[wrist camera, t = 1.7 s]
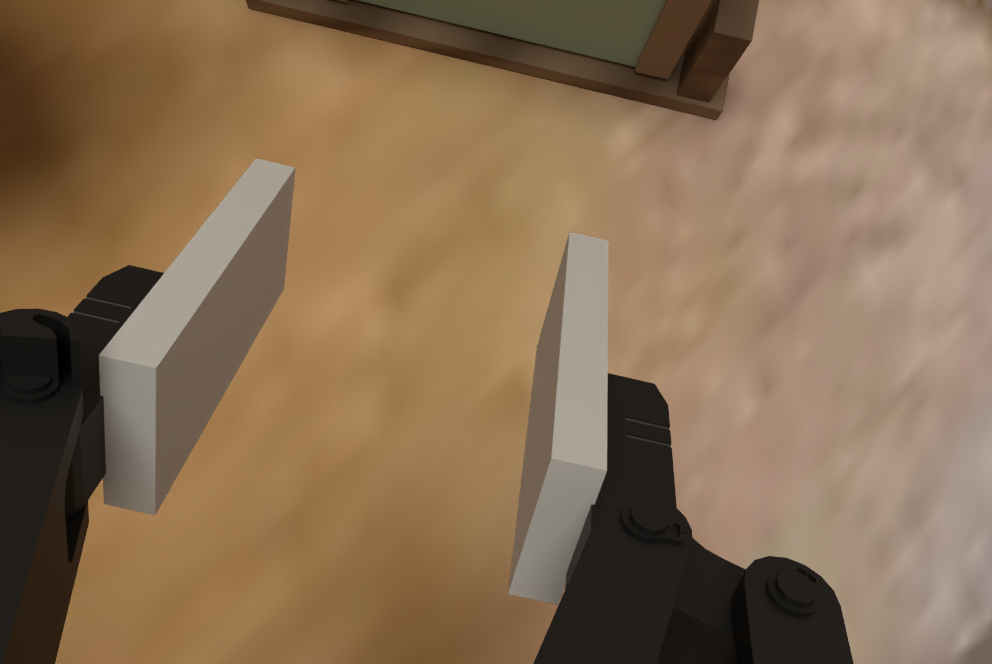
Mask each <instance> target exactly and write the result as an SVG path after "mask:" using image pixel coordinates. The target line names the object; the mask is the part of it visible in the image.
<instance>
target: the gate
mask: <svg viewBox="0 0 992 664" xmlns="http://www.w3.org/2000/svg"><path fill="white" fill-rule="evenodd" d="M337 1H341V2H345V3H347V1H348V0H337ZM358 1H362V2H367V3H371V4H375V5H379V6H383V7H388V8H392V9H396V10H400V11H404V12H408V13H413V14H417V15H421V16H425V17H429V18H433V19H438V20H442V21H446V22H450V23H454V24H458V25H463V26H467V27H471V28H475V29H479V30H483V31H488V32H492V33H496V34H500V35H504V36H508V37H513V38H517V39H521V40H525V41H529V42H533V43H538V44H542V45H546V46H550V47H554V48H558V49H563V50H567V51H571V52H575V53H579V54H583V55H588V56H592V57H596V58H600V59H604V60H608V61H613V62H617V63H621V64H625V65H629V66H634V67H635V72H638V73H642V74H646V75H650V76H654V77H658V78H663V79H667V80H668V78H669V76H670V74H671V72H672V71H673V69H674V67H675V65H676V63H677V62H678V60H679V58H680V56H681V54H682V53H683V51H684V49H685V47H686V45H687V44H688V42H689V40H690V38H691V36H692V35H693V33H694V31H695V29H696V27H697V26H698V24H699V22H700V20H701V18H702V17H703V15H704V13H705V11H706V9H707V8H708V6H709V4H710V2H711V0H358Z"/></svg>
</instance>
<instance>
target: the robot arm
mask: <svg viewBox="0 0 992 664" xmlns="http://www.w3.org/2000/svg"><path fill="white" fill-rule="evenodd" d="M294 178H295V167H291V166H287V165H282V164H278V163H274V162H270V161H265V160H261V159H257V158H256V159H255V160H254V161H253V163H252V164H251V165H250V166H249V168H248V169H247V170H246V171H245V173H244V174H243V175H242V176H241V178H240V179H239V180H238V181H237V183H236V184H235V185H234V186H233V188H232V189H231V190H230V191H229V193H228V194H227V195H226V196H225V198H224V199H223V200H222V201H221V203H220V204H219V205H218V206H217V208H216V209H215V210H214V212H213V213H212V214H211V215H210V217H209V218H208V219H207V220H206V222H205V223H204V224H203V225H202V227H201V228H200V229H199V230H198V232H197V233H196V234H195V235H194V237H193V238H192V239H191V240H190V242H189V243H188V244H187V245H186V247H185V248H184V249H183V250H182V252H181V253H180V254H179V255H178V257H177V258H176V259H175V260H174V262H173V263H172V264H171V265H170V267H169V268H168V269H167V270H166V272H165V273H161V272H157V271H152V270H148V269H144V268H139V267H135V266H131V265H128V266H126V267H124V268H122V269H120V270H118V271H116V272H114V273H111V274H109V275H107V276H105V277H103V278H102V279H101V280H100V281H99V282H98V283H97V285H96V286H95V287H94V288H93V289H92V290H91V291H90V292H89V293H88V295H87V297H86V299H83V300H82V301H81V302H80V303H79V305H78V306H77V307H76V308H75V309H74V313H70V315H69V316H68V317H65V316H63V315H61V314H59V313H57V312H53V311H47V310H42V309H15V310H11V311H7V312H3V313H0V664H55V661H56V657H57V653H58V648H59V644H60V640H61V636H62V632H63V628H64V624H65V619H66V615H67V611H68V607H69V603H70V599H71V594H72V590H73V586H74V582H75V578H76V574H77V570H78V565H79V561H80V557H81V553H82V549H83V545H84V541H85V536H86V532H87V528H88V524H89V514H88V499H89V498H90V496H91V495H92V493H93V492H94V490H95V489H96V487H97V486H98V484H99V483H100V481H101V480H102V478H103V488H104V504H107V505H111V506H116V507H120V508H125V509H129V510H134V511H138V512H143V513H147V514H152V515H156V513H157V511H158V509H159V508H160V506H161V504H162V502H163V500H164V499H165V497H166V495H167V493H168V492H169V490H170V488H171V486H172V485H173V483H174V481H175V479H176V478H177V476H178V474H179V472H180V471H181V469H182V467H183V465H184V464H185V462H186V460H187V458H188V456H189V455H190V453H191V451H192V449H193V448H194V446H195V444H196V442H197V441H198V439H199V437H200V435H201V434H202V432H203V430H204V428H205V427H206V425H207V423H208V421H209V420H210V418H211V416H212V414H213V413H214V411H215V409H216V407H217V405H218V404H219V402H220V400H221V398H222V397H223V395H224V393H225V391H226V390H227V388H228V386H229V384H230V383H231V381H232V379H233V377H234V376H235V374H236V372H237V370H238V369H239V367H240V365H241V363H242V361H243V360H244V358H245V356H246V354H247V353H248V351H249V349H250V347H251V346H252V344H253V342H254V340H255V339H256V337H257V335H258V333H259V332H260V330H261V328H262V326H263V325H264V323H265V321H266V319H267V318H268V316H269V314H270V312H271V310H272V309H273V307H274V305H275V303H276V302H277V300H278V298H279V296H280V295H281V293H282V291H283V289H284V283H285V272H286V262H287V251H288V241H289V230H290V220H291V209H292V199H293V188H294ZM669 428H670V422H669V410H668V404H667V403H666V401H665V400H664V398H663V396H662V395H661V393H660V392H659V390H658V389H657V387H656V385H655V384H653V383H648V382H644V381H640V380H635V379H631V378H627V377H622V376H618V375H614V374H609V373H608V241H607V240H603V239H598V238H594V237H590V236H586V235H581V234H577V233H573V232H569V235H568V239H567V242H566V246H565V249H564V253H563V257H562V260H561V264H560V267H559V271H558V274H557V278H556V281H555V285H554V288H553V292H552V295H551V299H550V303H549V306H548V310H547V313H546V317H545V320H544V324H543V327H542V331H541V334H540V338H539V341H538V345H537V351H536V359H535V368H534V377H533V385H532V394H531V402H530V411H529V419H528V428H527V436H526V445H525V453H524V462H523V470H522V479H521V488H520V496H519V505H518V513H517V522H516V530H515V539H514V547H513V556H512V564H511V573H510V581H509V590H508V594H511V595H516V596H520V597H525V598H529V599H534V600H538V601H543V602H547V603H552V604H556V605H558V603H559V600H560V598H561V595H562V592H563V590H564V587H565V592H564V595H563V597H562V599H561V601H560V604H559V606H558V608H557V611H556V613H555V615H554V618H553V620H552V622H551V624H550V627H549V629H548V631H547V634H546V636H545V638H544V640H543V643H542V645H541V647H540V650H539V652H538V654H537V657H536V659H535V661H534V663H533V664H853V660H852V655H851V651H850V646H849V642H848V637H847V633H846V628H845V624H844V619H843V615H842V610H841V606H840V604H839V601H838V599H837V597H836V595H835V592H834V591H833V589H832V588H831V587H830V586H829V585H828V584H827V583H826V581H825V580H824V579H823V578H822V577H821V576H820V575H818V574H817V573H815V572H814V571H813V570H811V569H810V568H808V567H807V566H805V565H803V564H801V563H798V562H796V561H793V560H790V559H788V558H783V557H773V556H768V557H764V558H761V559H757V560H755V561H754V562H753V563H752V564H751V565H750V566H749V567H748V568H747V569H746V570H745V569H743V568H741V567H739V566H737V565H735V564H733V563H731V562H729V561H727V560H725V559H723V558H721V557H719V556H717V555H715V554H713V553H712V552H710V551H708V550H707V549H705V548H704V547H703V546H701V545H700V544H699V543H698V542H697V541H695V540H694V539H693V538H692V529H691V527H690V525H689V523H688V521H687V519H686V517H685V516H684V515H683V514H682V513H681V512H680V511H679V510H678V509H677V508H676V495H675V483H674V471H673V459H672V448H670V446H671V435H670V430H669ZM565 584H566V586H565Z"/></svg>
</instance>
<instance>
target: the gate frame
mask: <svg viewBox="0 0 992 664" xmlns="http://www.w3.org/2000/svg"><path fill="white" fill-rule="evenodd" d="M246 2H247V5H248V8H250V9H255V10H259V11H263V12H267V13H271V14H276V15H280V16H284V17H288V18H292V19H297V20H301V21H305V22H309V23H313V24H317V25H322V26H326V27H330V28H334V29H338V30H343V31H347V32H351V33H355V34H359V35H364V36H368V37H372V38H376V39H380V40H384V41H389V42H393V43H397V44H401V45H405V46H410V47H414V48H418V49H422V50H426V51H431V52H435V53H439V54H443V55H447V56H451V57H456V58H460V59H464V60H468V61H472V62H477V63H481V64H485V65H489V66H493V67H498V68H502V69H506V70H510V71H514V72H518V73H523V74H527V75H531V76H535V77H539V78H544V79H548V80H552V81H556V82H560V83H565V84H569V85H573V86H577V87H581V88H585V89H590V90H594V91H598V92H602V93H606V94H611V95H615V96H619V97H623V98H627V99H632V100H636V101H640V102H644V103H648V104H652V105H657V106H661V107H665V108H669V109H673V110H678V111H682V112H686V113H690V114H694V115H699V116H703V117H707V118H711V119H715V120H716V119H717V118H718V117H719V115H720V114H721V112H722V111H723V106H724V100H725V95H726V89H727V84H728V79H729V73H730V72H731V70H732V69H733V67H734V66H735V64H736V63H737V62H738V60H739V59H740V57H741V56H742V54H743V53H744V51H745V50H746V48H747V47H748V46H749V44H750V43H751V41H752V36H753V31H754V25H755V19H756V14H757V8H758V3H759V0H711V2H710V4H709V6H708V8H707V9H706V11H705V13H704V15H703V17H702V18H701V20H700V22H699V24H698V26H697V27H696V29H695V31H694V33H693V35H692V36H691V38H690V40H689V42H688V44H687V45H686V47H685V49H684V51H683V53H682V54H681V56H680V58H679V60H678V62H677V63H676V65H675V67H674V69H673V71H672V72H671V74H670V76H669V78H668V80H667V79H663V78H658V77H654V76H650V75H646V74H642V73H638V72H635V67H634V66H629V65H625V64H621V63H617V62H613V61H608V60H604V59H600V58H596V57H592V56H588V55H583V54H579V53H575V52H571V51H567V50H563V49H558V48H554V47H550V46H546V45H542V44H538V43H533V42H529V41H525V40H521V39H517V38H513V37H508V36H504V35H500V34H496V33H492V32H488V31H483V30H479V29H475V28H471V27H467V26H463V25H458V24H454V23H450V22H446V21H442V20H438V19H433V18H429V17H425V16H421V15H417V14H413V13H408V12H404V11H400V10H396V9H392V8H388V7H383V6H379V5H375V4H371V3H367V2H362V1H358V0H348V1H347V3H345V2H341V1H337V0H246Z"/></svg>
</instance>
